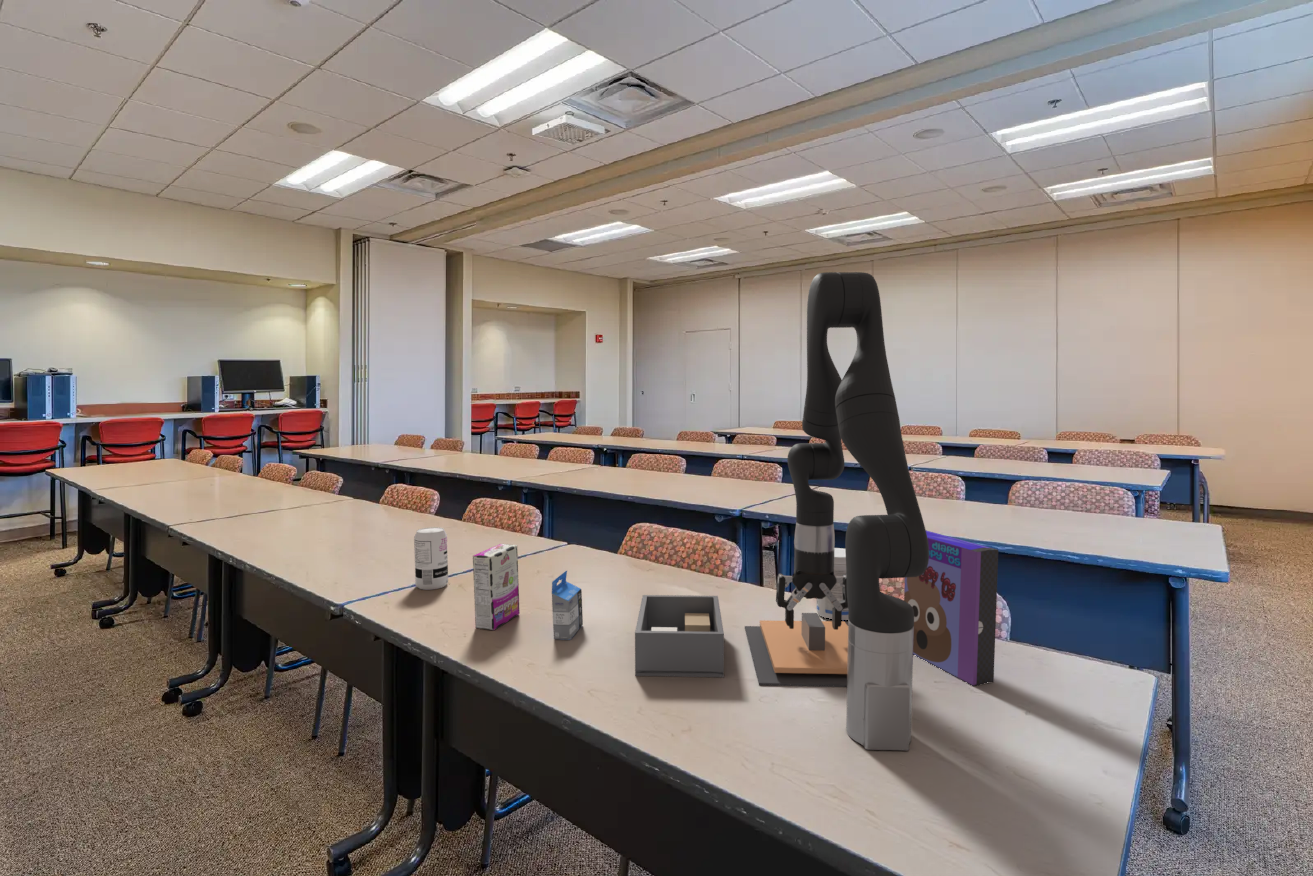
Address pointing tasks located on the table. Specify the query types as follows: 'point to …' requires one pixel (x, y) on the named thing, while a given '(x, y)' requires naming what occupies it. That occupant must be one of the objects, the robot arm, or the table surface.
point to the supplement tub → (839, 569)
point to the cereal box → (956, 608)
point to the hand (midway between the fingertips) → (813, 628)
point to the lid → (806, 645)
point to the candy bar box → (496, 586)
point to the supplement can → (431, 558)
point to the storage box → (679, 636)
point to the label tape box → (566, 608)
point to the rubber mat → (784, 679)
